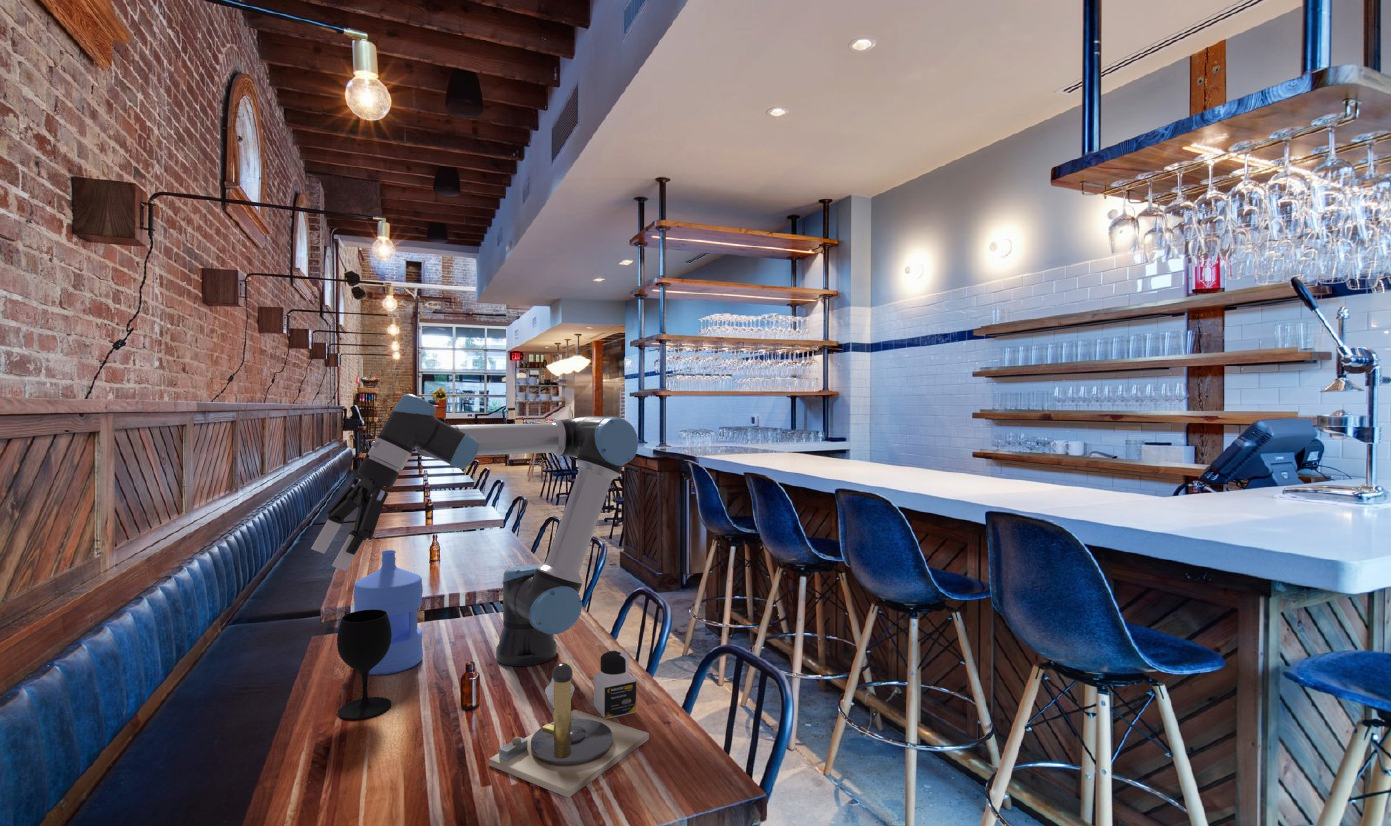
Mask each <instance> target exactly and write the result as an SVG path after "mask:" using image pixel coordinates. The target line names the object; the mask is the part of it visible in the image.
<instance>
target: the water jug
mask: <svg viewBox="0 0 1391 826" xmlns="http://www.w3.org/2000/svg"><path fill="white" fill-rule="evenodd" d="M381 555H382V558H381V568H380V569H378V570H376V571H373V572H372V573H369V574H368V575H366V576H364V577H362V578H360V579H357V581H355V583H354V588H353V602H354V603H353V605H354V606H353V607H354V608H353V609H354V610H353V612H356V611H361V610H383V611H386V612H387V615H388V617H389V621H390V625H391V632H392V637H391V644H390V647H389V650H388V652H387V653H386V655H385V656H384V658H383V659H382V660H381V661H380V662H379V663H378V664H377V665H376V666H375V667H374V668H372V669H371V670H370V671H369V674H368V676H369V675H371V676H381V675H391V674H396V673H400V672H404V671H406V670H409V669H411V668H414V667H415V666H417V665H418V664H419V663H420V662H421V661H422V660H423V656H424V649H423V631H422V629H421V628H419V627H418V609H420V607H421V606H422V605H423V591H424V589H423V587H424V586H423V578H422V576H421V575H419V574H417V573H415V572H412V571H409V570H405V569H402V568H400V567H397V565H396V560H397V558H396V550H394V549H393V550H391V549H390V550H389V549H388V550H383V551H381Z"/></svg>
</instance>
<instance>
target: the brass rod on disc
mask: <svg viewBox="0 0 1391 826" xmlns="http://www.w3.org/2000/svg"><path fill="white" fill-rule="evenodd" d="M573 674H574V673H573V668H572V667H571V665H570V664H568V663H565V662H560V663H558V664H557V665H555V666H554V668H553V669H552V673H551V678H553V680H554V708H553V722H554V723H552V722H550V723H551V724H550V723H546V724H545V725H544V726H543V725H542V727H541V728H539V729H538V730H536V731H537V732H536V731H535V732H536V733H535V732H534V733H535V734H534V735H533V737H532V739H531V752H532V754H533V755H534V756H535V757H536V758H537V759H539V760H540V761H543V762H545V763H548V764H553V765H577V764H582V763H586V762H590V761H593V760H595V759H597V758H599V757H601V756H603V755H604V754H605V753H606V752H607V751H608V750H609V749H610V748H611V746H612V732H611V730H610V728H609V727H608V726H606V725H605V724H603V723H601V722H598V721H594V720H589V719H571V711H572V698H571V683H572V678H573Z"/></svg>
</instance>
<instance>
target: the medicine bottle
mask: <svg viewBox="0 0 1391 826" xmlns="http://www.w3.org/2000/svg"><path fill="white" fill-rule="evenodd" d="M593 707H594V708H595V709H596V710H597V712H598V713H599V714H600V715H601V717H602V718H603V719H606V720H609V719H613V718H616V717H621V716H626V715H631V714H635V713H636V712H637V679H636V678H635V677H634V676H632V674H631V673H630V655H629V654H628V653H627V652H626V651H622V650H610V651H607V652H605V653H603V654H602V655H601V656H600V672H598V673H594V674H593Z"/></svg>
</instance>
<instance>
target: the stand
mask: <svg viewBox="0 0 1391 826" xmlns="http://www.w3.org/2000/svg"><path fill="white" fill-rule="evenodd" d="M571 719H589V720H594V721H598V722H601V723H603V724H605V725H606V726H608V727H609V728H610V730H611V732H612V746H611V748H610V749H609V750H608V751H607V752H606V753H605V754H604V755H603V756H601V757H599V758H597V759H595V760H593V761H590V762H586V763H582V764H577V765H553V764H548V763H545V762H543V761H540V760H539V759H537V758H536V757H535V756H534V755H533V754H532V752H531V739H532V737H533V735H534V734H535V733H536V732H537V731H538V730H536V731H535V732H533V733H531V734H530V735H528V736H526V737H524V738H523V737H521V736H515V737H513V738H512V740H511V741H510V742H509V743H507V744H505V745H503V746H502V747H501V746H500V748H499V749H498V753H496V754H495V755H493V756H491V757H489V758H488V765H489V766H490V767H492V768H494V769H496V770H500V771H502V772H504V773H506V774H510V775H512V776H514V777H515V778H516V777H517V778H519V779H520V780H521V779H522V780H523V781H526V782H529V783H531V784H533V785H536V786H538V787H541V788H543V789H545V790H549V791H550V792H553V793H556V794H559V795H561V796H562V797H565V798H568V799H570V798H571V797H572V796H573V795H575V794H576V793H578V792H579V791H580V790H581V789H583V788H584V787H586V786H587V785H589V784H590V783H591V782H593V781H594V780H595V779H597V778H598V777H600V776H601V775H602V774H604V773H605V772H606V771H608V770H609V769H610V768H612V767H613V766H615V765H616V764H617V763H619V762H620V761H621V760H622V759H624V758H625V757H627V756H628V755H629V754H631V753H632V752H633V751H635V750H637V749H638V748H639V747H640V746H642V745H643V744H644V743H646V742H647V741H648V740H649V739H650V732H647V731H644V730H640V729H637V728H634V727H631V726H627V725H625V724H622V723H618V722H615V721H612V720H609V719H604V718H603V717H600V716H597V715H595V714H594V715H593V714H590V713H587V712H584V711H580V710H578V709H576V708H575V709H573V710H571ZM551 723H554V721H552V722H550V723H549V724H551Z"/></svg>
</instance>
